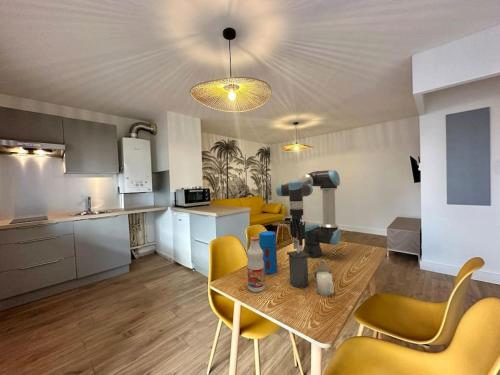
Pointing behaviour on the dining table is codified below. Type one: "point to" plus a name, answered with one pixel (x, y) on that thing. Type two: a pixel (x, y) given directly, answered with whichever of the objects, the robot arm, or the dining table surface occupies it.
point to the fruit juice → (255, 266)
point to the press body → (298, 269)
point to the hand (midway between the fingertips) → (298, 249)
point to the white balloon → (325, 284)
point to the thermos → (268, 251)
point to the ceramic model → (322, 269)
